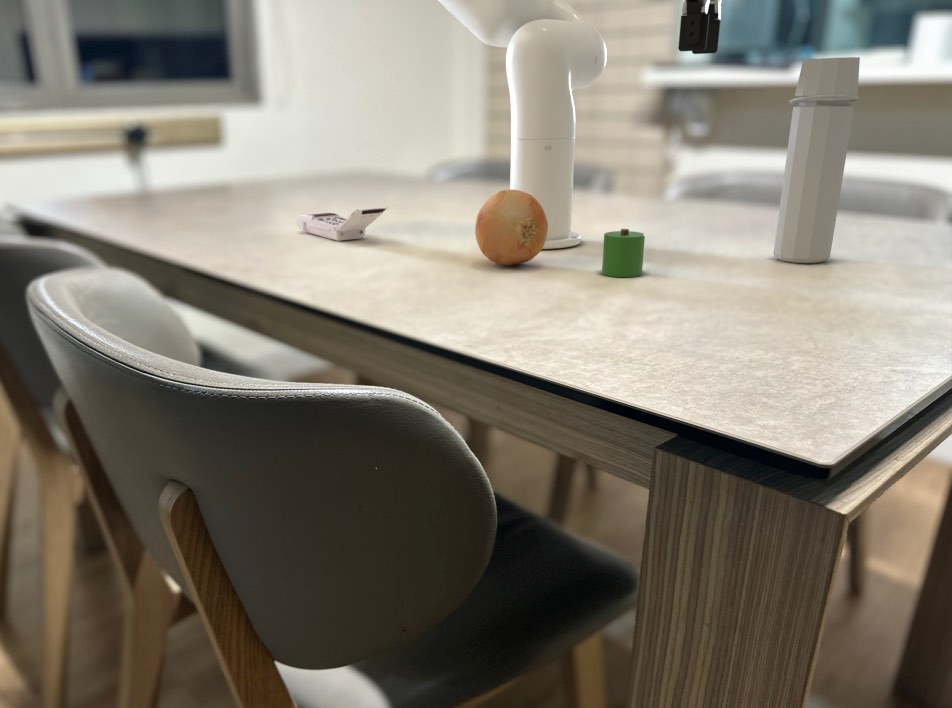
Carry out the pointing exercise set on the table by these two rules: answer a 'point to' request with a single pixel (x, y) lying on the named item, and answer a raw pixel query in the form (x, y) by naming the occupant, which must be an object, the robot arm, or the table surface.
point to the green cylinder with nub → (623, 253)
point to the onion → (511, 227)
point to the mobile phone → (339, 224)
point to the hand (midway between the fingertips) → (698, 52)
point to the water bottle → (816, 158)
